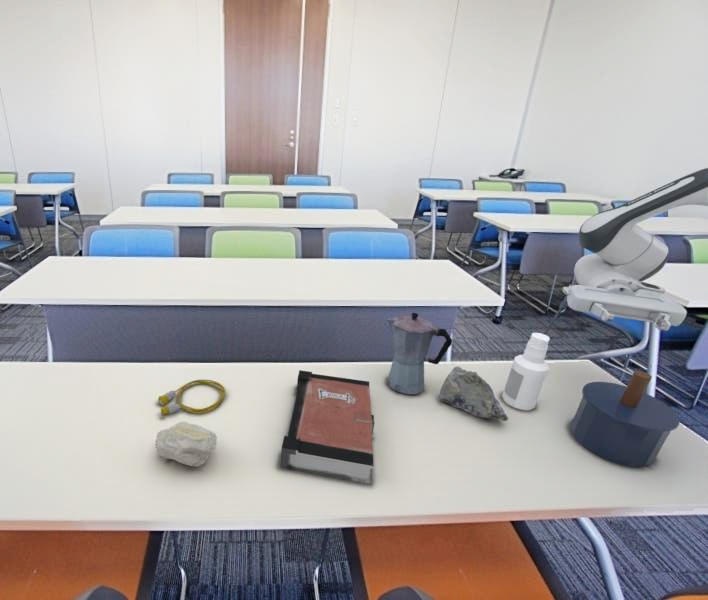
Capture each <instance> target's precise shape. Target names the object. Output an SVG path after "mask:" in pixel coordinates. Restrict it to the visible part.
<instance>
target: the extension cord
mask: <svg viewBox="0 0 708 600" xmlns="http://www.w3.org/2000/svg"><path fill="white" fill-rule="evenodd" d="M197 385H208V386H211V387H214V388H216V389H217V390H219V392H220V393H221V397H220V398H219V400H217V401H216V402H214V403H213V404H211V405H209V406H206V407H203V408H193V407H191V406H187V405H185V404H182V402H181V396H182V394H183V392H184V391H185V390H187V389H189V388H191V387H193V386H197ZM177 392H179V393H178V398H177V402H176V403H172V404H169V405H166V404H167V403H169V402H170V401H171V400H172V399H173V398H174V397H175V396H176V393H177ZM225 395H226V388H225V387H224V386H223V385H222V384H221V383H220V382H218V381H215V380H211V379H196V380H195V379H194V380H192V381H189V382H188V383H185V384H183V385H182V386H181V387H179V388H178V389H175V390H169V392H166V393H165V394H163V395H160V396H158V399H157V401H158V403H159V404H160V405H161V406H164V407H161V408H160V413H161V415H162V416H165V415H167V414H168V415H170V414H172V413H175V412H176V411H179V410H180V409H183V410H184V411H187V412H189V413H192V414H205V413H208V412H209V413H210V412H211V411H213V410H215V409H216V408H217V407H218V406H219V405H221V403H222V401H223V400H224V397H225ZM165 405H166V406H165Z"/></svg>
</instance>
